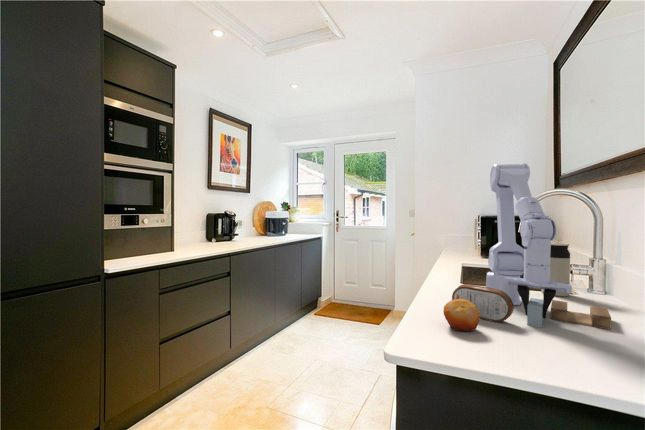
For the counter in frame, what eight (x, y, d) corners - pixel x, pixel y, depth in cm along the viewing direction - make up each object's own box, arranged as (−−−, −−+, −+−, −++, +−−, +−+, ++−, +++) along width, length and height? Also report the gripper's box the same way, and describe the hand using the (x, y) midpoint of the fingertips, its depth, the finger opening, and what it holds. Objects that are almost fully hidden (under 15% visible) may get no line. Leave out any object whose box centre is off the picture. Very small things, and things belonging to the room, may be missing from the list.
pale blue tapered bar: (527, 324, 80) (527, 305, 80) (530, 315, 87) (530, 297, 87) (541, 327, 79) (541, 307, 78) (543, 318, 86) (544, 299, 86)
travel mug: (560, 297, 107) (561, 244, 106) (536, 292, 114) (537, 242, 114) (574, 295, 110) (575, 243, 110) (550, 290, 117) (551, 241, 117)
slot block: (550, 318, 85) (550, 307, 85) (552, 310, 93) (552, 299, 93) (610, 329, 78) (611, 317, 78) (606, 318, 86) (607, 307, 86)
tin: (513, 323, 82) (514, 290, 82) (510, 326, 79) (511, 293, 79) (454, 310, 92) (455, 281, 92) (450, 312, 90) (450, 283, 90)
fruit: (475, 317, 82) (478, 294, 78) (479, 343, 75) (482, 319, 71) (442, 313, 84) (443, 291, 80) (443, 338, 78) (444, 315, 74)
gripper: (502, 263, 84) (501, 314, 84) (572, 269, 75) (570, 326, 75) (506, 260, 90) (505, 307, 90) (571, 266, 81) (570, 319, 81)
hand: (535, 316), depth 83 cm, fingers closed on pale blue tapered bar, 3 cm apart
